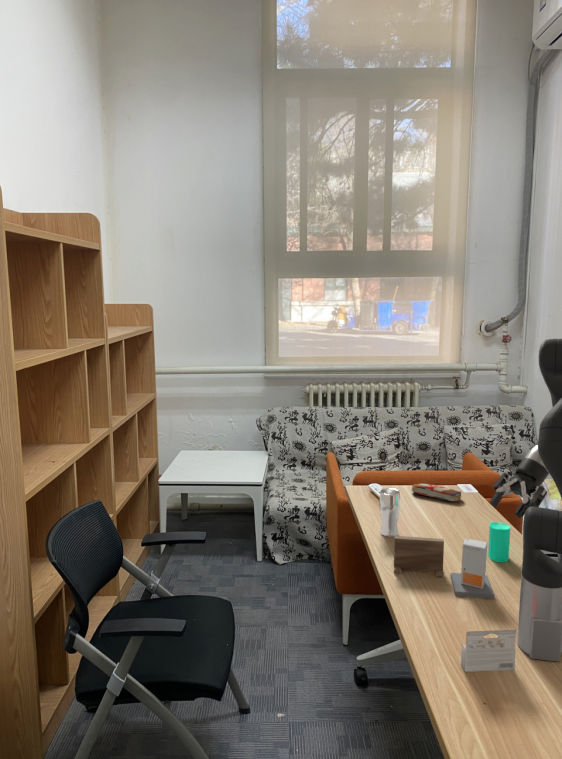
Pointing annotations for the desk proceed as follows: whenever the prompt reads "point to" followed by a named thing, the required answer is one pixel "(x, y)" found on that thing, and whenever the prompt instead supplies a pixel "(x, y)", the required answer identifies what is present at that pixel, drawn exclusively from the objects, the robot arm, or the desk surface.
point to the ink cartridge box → (489, 651)
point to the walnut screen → (418, 555)
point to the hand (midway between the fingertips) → (504, 510)
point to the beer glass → (389, 511)
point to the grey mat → (471, 588)
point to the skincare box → (474, 563)
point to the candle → (499, 542)
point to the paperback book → (437, 492)
